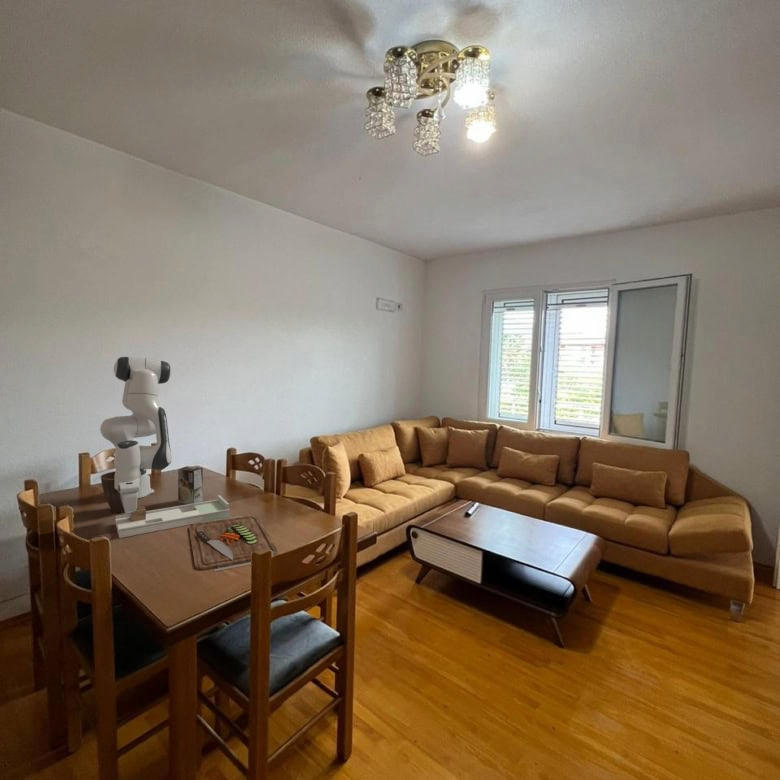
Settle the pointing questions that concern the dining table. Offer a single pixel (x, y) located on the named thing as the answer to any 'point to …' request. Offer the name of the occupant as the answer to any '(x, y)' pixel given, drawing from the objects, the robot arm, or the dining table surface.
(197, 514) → the tray
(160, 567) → the dining table surface
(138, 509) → the block
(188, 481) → the coffee box
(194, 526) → the chopping board
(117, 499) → the plant pot
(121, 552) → the dining table surface
